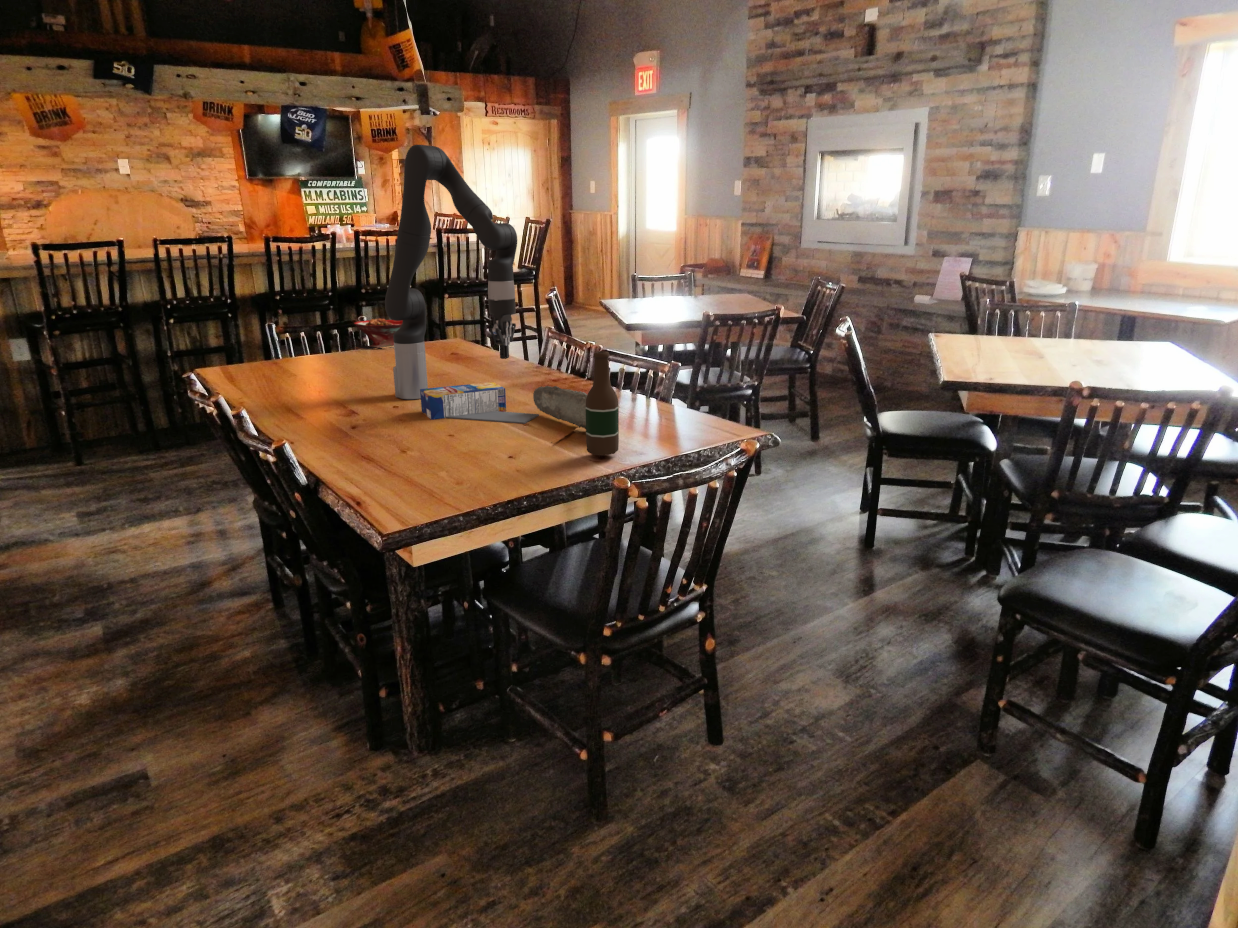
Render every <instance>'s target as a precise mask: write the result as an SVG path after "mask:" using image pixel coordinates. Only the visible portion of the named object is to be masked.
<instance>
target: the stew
mask: <svg viewBox="0 0 1238 928" xmlns="http://www.w3.org/2000/svg"><path fill="white" fill-rule="evenodd" d="M402 322H403V320H402V321H394V320H392V319H385V318H379V317H377V318H371V319H369V320H368V319H367V320H361V321H355V322H353V325H355V326H356V327H357V329H358V330H360V331H361V332H362V333H363V334H364V335H365V336H367V338H368V339H369V340H370V341H372V344H370V345H364V344H363V343H364V342H363V341H361V340H359V344H358V345H357V346H354V349H358V350H359V349H360V350H375V349H378V350H383V349H382V348H385V347H386V348H387V347H389V348H393V349H394V340H393V335H394V333H395V332H396V331H397V330H398V329H399V328H400V327H401V325H402Z"/></svg>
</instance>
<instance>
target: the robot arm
mask: <svg viewBox="0 0 1238 928" xmlns="http://www.w3.org/2000/svg"><path fill="white" fill-rule="evenodd" d="M427 181H436V182H438V183H439V184H440V185H442V186H443V187H444V188H445V189H446V190H447V191H448V193H449V194H450V196H451V200H452V203H453V205H454V207H455V209H456V211H457V212H458V213H459V215H460V216H461V217H462V219H464V220H465V221H466V222H467V223H468V224H469V225H470V226H471V228H472V229H473V232H474V234H475V235H476V237H477V239H478V240H479V242H480V244H481V245H483V247H485V248H486V249H488V250H490V251H496V252H495V256H494V258H491V259H490V260H489V261H488V263H487V276H488V278H487V279H488V286H487V295H488V296H487V298H488V299H487V302H488V313H489V315H492V316H493V327H490V328H489V333H490V334H491V337H492V339H493V341H494V344H495V345H498V346H499V358H500V359H502V360H506V359H507V360H508V359H510V347H509V346H510V344H511V343H512V342H513V340H514V336H515V331H516V328H517V327H516V326H517V324H516V322H515V323H514V322H513V318H512V316H513V315H515V314H516V311H517V309H516V307H517V306H516V288H515V287H516V286H515V281H514V262H515V257H516V254H517V247H518V233H517V231H516V229H515V227H514V226H513V225H511V224H510V223H507V222H505V223H503V222H501V223H500V222H499V223H498V222H497V223H496V222H494V221H493V212H492V210H491V208H490V207H489V206H488V205H487V204H486V203H485V202H484V201H483V200H482V199H481V197H479V195H477V194H476V193H475V192H474V190H473V189H472V188H471V187H470V186H469V185H468V183H467V181H465V180H464V177H463V176H462V174H461V173H460V172H459V170H458V169H457V168H456V166H455V165H454V163H453V162H452V160H451V159H450V158H449V156H448V154H447V153H446V152H445V151H444V150H443V149H442V148H440V147H438V146H434V145H427V144H414V145H412V146H410V147H409V148H408V150H407V152H406V156H405V160H404V173H403V190H402V191H403V194H402V195H403V196H402V201H401V202H402V203H401V211H400V219H399V223H398V228H397V229H398V230H397V237H396V245H395V246H396V247H395V253H394V258H393V264H392V269H391V274H390V279H389V282H388V286H387V289H386V293H385V300H384V308H385V312H386V314H387V317H388V318H390V319H389V320H394V321H402V320H403V322H402V325H401V327H400V328H399V329H398V330H397V331H396V332H395V333H394V335H393V340H394V345H393V347H394V348H393V350H394V359H395V362H394V364H395V365H394V366H393V369H392V371H393V372H392V373H393V383H394V392H395V393H394V395H395V396H394V397H395V398H398V399H402V400H418V399H420V400H421V395H420V389H426V388H429V387H428V372H427V371H428V370H427V360H426V357H427V356H426V345H425V335H426V332H427V331H426V330H427V315H426V314H427V311H426V310H427V309H426V307H427V306H426V302H425V298H424V296H423V294H422V292H421V291H420V290H419V289H417V288H412V287H411V284H412V281H413V277H414V276H415V273H416V272H417V270H418V269H419V267H420V266H421V264H422V262H424V259H425V258H426V255H427V253H428V251H429V247H430V242H431V234H432V223H431V220H430V215H429V213H428V210H427V207H426V204H425V194H426V193H425V191H426V186H427Z"/></svg>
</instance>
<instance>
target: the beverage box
mask: <svg viewBox="0 0 1238 928" xmlns="http://www.w3.org/2000/svg"><path fill="white" fill-rule="evenodd" d="M506 392H507V391H506V388H505V387H504V386H501V385H500V384H498V383H496V382H494V381H490V382H480V383H470V384H469V383H468V384H461V385H460V384H459V385H449V386H448V385H447V386H440V387H439V386H436V387H428V388H426V389H420V395H421V398H420V407H421V408H420V409H421V413H422V414H423V415H425V417H427V418H428V419H429V420H430V421H432V420H440V419H441V420H443V419H447V418H446V417H447V416H456V415H465V414H474V413H483V412H492V411H501V412H507V396H506V395H507V393H506Z"/></svg>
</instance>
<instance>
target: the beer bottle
mask: <svg viewBox="0 0 1238 928" xmlns="http://www.w3.org/2000/svg"><path fill="white" fill-rule="evenodd" d="M592 356H593V358H594V362H593V363H594V364H593V366H594V367H593V383H592V386H591V388H590V389H589V391H588V392H587V398H586V429H585V435H586V436H585V440H586V441H585V442H586V443H585V446H586V451H587V452H588V453H589V454H591V455H593V456H594V455H596V456H609V455H614V454H616V453H617V452H618V451H619V444H620V443H619V441H620V440H619V439H620V437H619V435H620V433H619V432H620V431H619V428H620V426H619V424H620V423H619V419H620V418H619V412H620V411H619V410H620V409H619V398H618V395H617V393H616V390H614V388H613V386H612V384H611V383H612V382H611V377H610V363H609V358H610V357H611V355H610V352H609V351H607V350H597V351H594V353H593V355H592Z"/></svg>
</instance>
